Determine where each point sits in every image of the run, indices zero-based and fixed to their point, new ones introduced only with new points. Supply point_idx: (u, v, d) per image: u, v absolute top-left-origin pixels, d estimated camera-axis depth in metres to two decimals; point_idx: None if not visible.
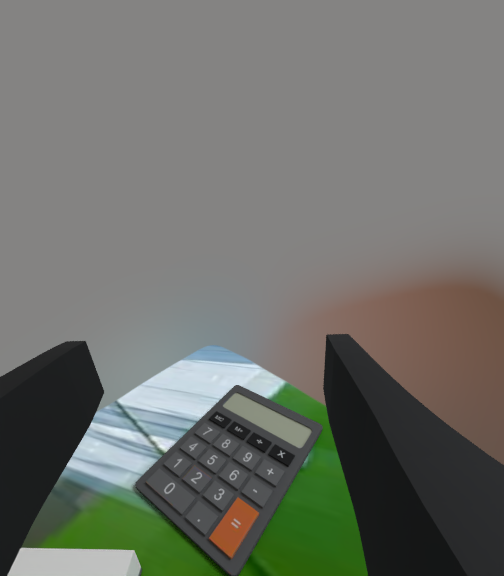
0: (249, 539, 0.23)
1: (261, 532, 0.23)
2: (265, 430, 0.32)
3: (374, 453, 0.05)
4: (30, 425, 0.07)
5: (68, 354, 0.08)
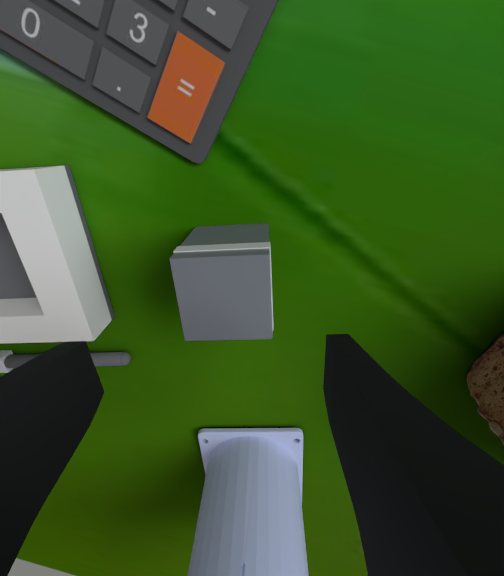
0: (214, 111, 0.14)
1: (232, 97, 0.14)
2: None
3: (374, 453, 0.05)
4: (30, 425, 0.07)
5: (68, 354, 0.08)
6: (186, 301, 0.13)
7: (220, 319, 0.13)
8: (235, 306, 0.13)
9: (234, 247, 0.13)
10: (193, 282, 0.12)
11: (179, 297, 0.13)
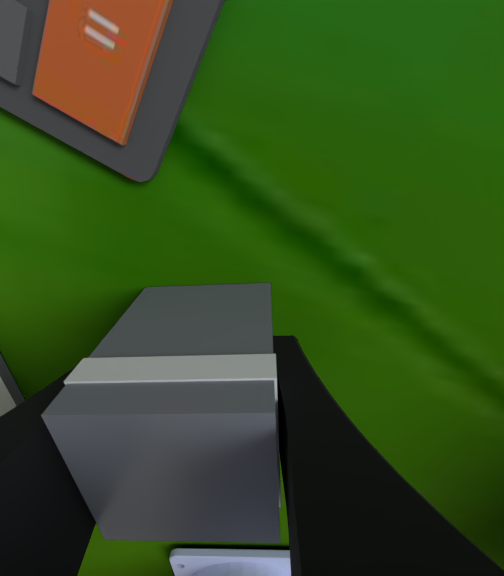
0: (164, 81, 0.07)
1: (200, 51, 0.07)
2: None
3: (287, 453, 0.05)
4: None
5: None
6: (95, 485, 0.06)
7: (171, 513, 0.06)
8: (201, 495, 0.06)
9: (197, 368, 0.06)
10: (104, 456, 0.06)
11: (79, 479, 0.06)
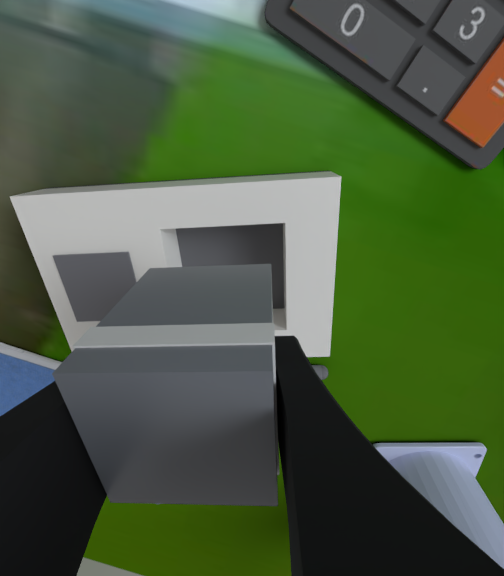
0: None
1: None
2: None
3: (288, 453, 0.05)
4: None
5: None
6: (102, 445, 0.06)
7: (173, 475, 0.07)
8: (202, 456, 0.06)
9: (199, 334, 0.06)
10: (110, 416, 0.06)
11: (86, 439, 0.06)
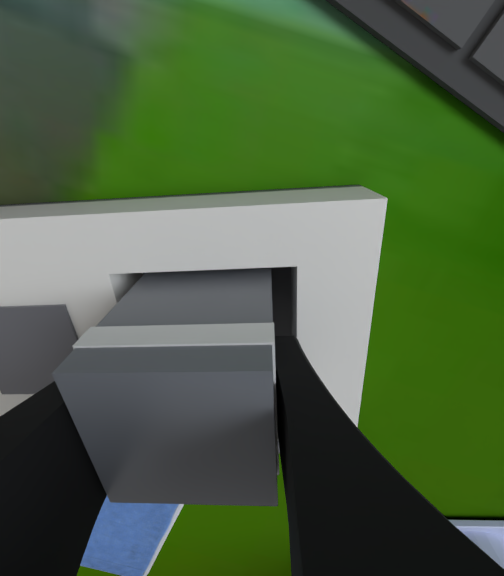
0: None
1: None
2: None
3: (288, 453, 0.05)
4: None
5: None
6: (102, 445, 0.06)
7: (173, 475, 0.07)
8: (201, 456, 0.06)
9: (198, 334, 0.06)
10: (110, 415, 0.06)
11: (86, 439, 0.06)
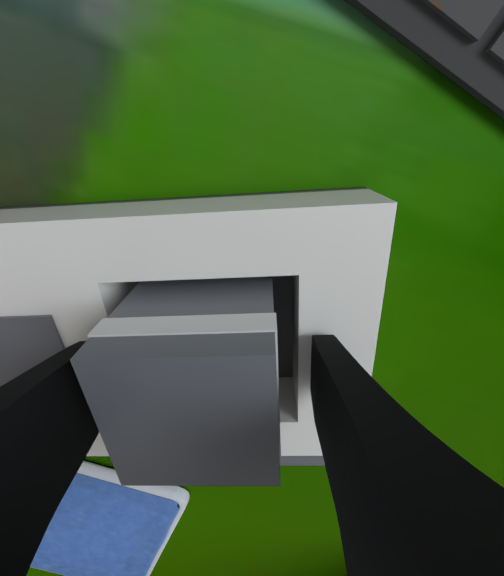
0: None
1: None
2: None
3: (351, 453, 0.05)
4: (47, 425, 0.07)
5: None
6: (115, 429, 0.07)
7: (182, 457, 0.07)
8: (209, 438, 0.07)
9: (206, 324, 0.07)
10: (124, 400, 0.06)
11: (100, 423, 0.07)
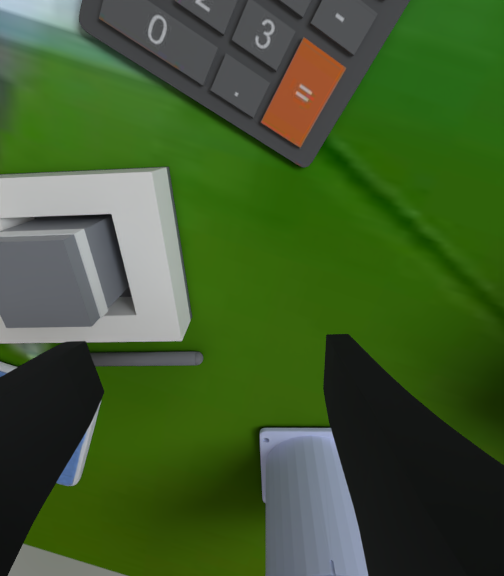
0: (327, 116, 0.14)
1: (347, 102, 0.14)
2: None
3: (374, 453, 0.05)
4: (30, 425, 0.07)
5: (68, 354, 0.08)
6: None
7: (34, 306, 0.13)
8: (45, 293, 0.13)
9: (44, 233, 0.13)
10: None
11: None
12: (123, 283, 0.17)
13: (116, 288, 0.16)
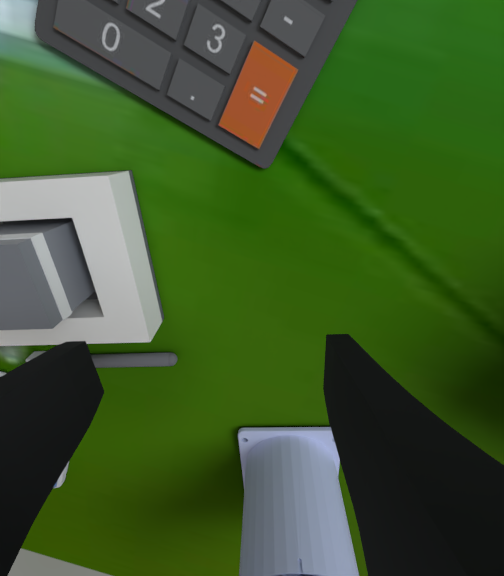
0: (283, 117, 0.14)
1: (302, 103, 0.14)
2: None
3: (374, 453, 0.05)
4: (30, 425, 0.07)
5: (68, 354, 0.08)
6: None
7: None
8: (4, 296, 0.13)
9: (3, 237, 0.13)
10: None
11: None
12: (91, 285, 0.17)
13: (82, 291, 0.16)
